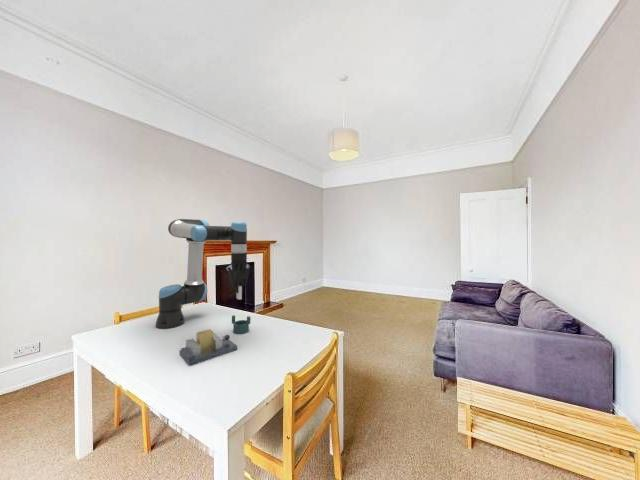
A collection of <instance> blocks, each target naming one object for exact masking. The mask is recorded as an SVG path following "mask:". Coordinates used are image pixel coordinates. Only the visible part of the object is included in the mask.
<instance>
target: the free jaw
mask: <svg viewBox="0 0 640 480" xmlns="http://www.w3.org/2000/svg"><path fill="white" fill-rule="evenodd" d="M230 339H231V336H230V335H229V334H226V335H224V336H219V335H218V334H216V333H215V332H213V348H214V349H215V350H219V349H222V341H225V340H230Z"/></svg>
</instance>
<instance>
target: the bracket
mask: <svg viewBox="0 0 640 480" xmlns="http://www.w3.org/2000/svg"><path fill="white" fill-rule="evenodd" d="M231 324H232V325H233V328H232V329H233V331H232V332H233V334H234V335H244V334H247V333H248V332H250V331H249V330H250V329H249V325H250V324H251V316H250V315H249V316H247V317H246V319H241V320H236V315H234V314H233V315H231Z"/></svg>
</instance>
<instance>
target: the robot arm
mask: <svg viewBox="0 0 640 480" xmlns="http://www.w3.org/2000/svg"><path fill="white" fill-rule="evenodd" d="M247 226H248V225H247V223H246V222H244V221H243V222H242V221H233V222H231V223H230V226H229V225H228V226H223V225H210V224H209V222H208V221H207V220H204V219H191V218H190V219H189V218H188V219H187V218H178V219H174V220H172V221H171V222H169V224H168V227H167V231H168V233H169V234H170V235H171V237H174V238H179V239H185V240H186V242H187V243H188V252H187V270H186V271H187V272H186V273H187V274H186V279H185V280H184V282H183V285H182V284H178V283H177V284H169V285H166V286H164V287H162V288H160V289H159V292H158V316H157V318H156V321H155V328H157V329H160V330H161V329H172V328H176V327H179V326H182V325H184V324H185V319H186V318H185V316H184V314H183V311H182V306H183V305H190V304H194V303H199V302H202V301H204V300H206V298H207V295H208V286H207V284H206V283H205V281H204V280H203V265H204V263H203V262H204V261H203V260H204V244H205V243H206V242H209V241H211V242H212V241H213V242H214V241H215V242H217V241H219V242H220V241H227V242H229V241H230V246H231V247H230V252H231V254H230V261H231V262H230V264H229V266H227V267H225V269H226V270H227V273H228V278H229V281H230V286H232V287H233V286H234V293H235V294H236V295H235V296H236V297H235V298H236V299H237V300H242V299H243V297H242V296H243V293H244V286H245V285H247V283H248V279H249V274H250V270H251V268H252V265H250V264H249V263H248V261H247V260H248V259H247V258H248V256H247V255H248V254H247V251H248V249H247V247H248V245H247V243H248V242H247V241H248V239H247V238H248V237H247V236H248V227H247Z"/></svg>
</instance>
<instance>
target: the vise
mask: <svg viewBox="0 0 640 480" xmlns="http://www.w3.org/2000/svg"><path fill="white" fill-rule="evenodd" d="M235 351H238V345H237V344H235V343H234V342H232V341H231V340H230V339H229V340H225V341H222V349H219V350H215V349H214V348H213V349H210V350H207V351H204V352H201V346H200V345H199V344H198V343H197V340H195V339H194V338H190V339H187V340H185V347H181V348H180V349H179V356H180V357H181V358H182V359H183V361H185V363H186V364H187V365H188V367H191V366H194V365H197V364H200V363H203V362H206V361H209V360H212V359H215V358H217V356H218V357H220V356H223V355H225V354H226V355H227V354H229V353H231V352H232V353H233V352H235ZM214 357H215V358H214ZM211 358H212V359H211ZM208 359H209V360H208ZM205 360H206V361H205ZM202 361H203V362H202ZM199 362H200V363H199Z"/></svg>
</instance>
